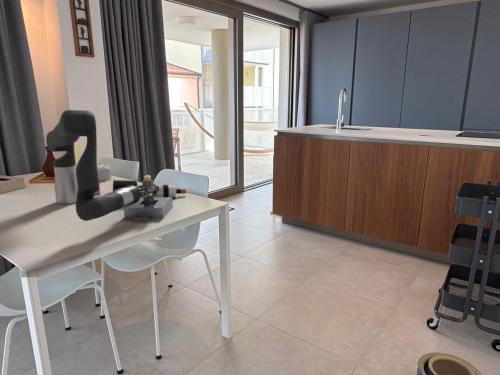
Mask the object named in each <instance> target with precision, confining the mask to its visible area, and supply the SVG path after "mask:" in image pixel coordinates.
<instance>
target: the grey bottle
mask: <svg viewBox="0 0 500 375" xmlns="http://www.w3.org/2000/svg"><path fill="white" fill-rule="evenodd" d="M141 184H142V186H143V188H146V187H148V188H152V187H153V184H154V180H153V179H152V177H151V175H143V180H142V182H141ZM145 191H146V190H145ZM149 191H150V190H149ZM146 193H147V192H146ZM143 200H144V204H150V205H154V196H153V197H151V198H148V196H145V197H143Z"/></svg>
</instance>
